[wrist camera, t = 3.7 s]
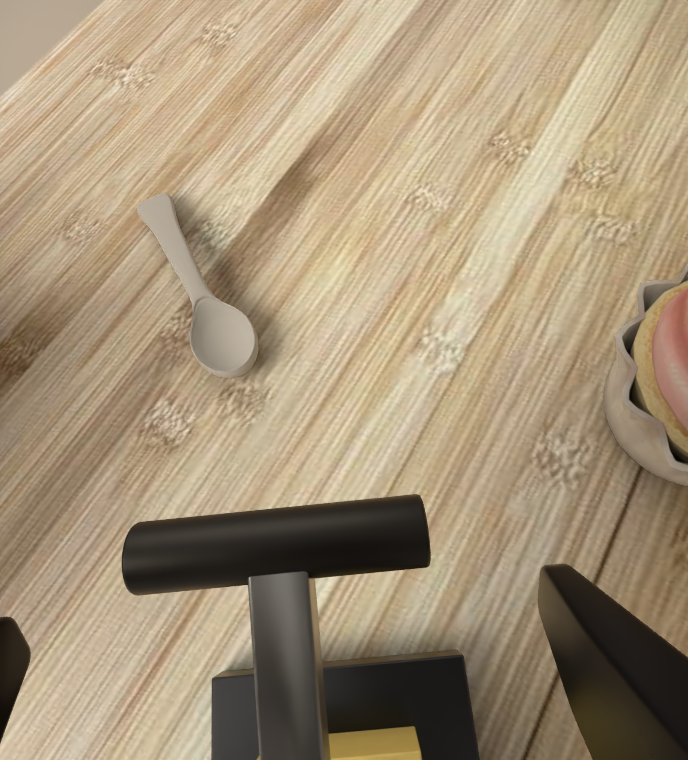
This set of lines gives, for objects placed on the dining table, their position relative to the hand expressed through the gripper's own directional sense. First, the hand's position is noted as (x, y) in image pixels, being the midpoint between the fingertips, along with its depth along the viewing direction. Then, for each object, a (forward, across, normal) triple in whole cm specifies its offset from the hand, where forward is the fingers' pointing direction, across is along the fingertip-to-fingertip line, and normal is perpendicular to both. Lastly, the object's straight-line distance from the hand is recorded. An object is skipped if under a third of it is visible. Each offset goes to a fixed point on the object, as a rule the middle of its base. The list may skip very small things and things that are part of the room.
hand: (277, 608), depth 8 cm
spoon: (+19, +6, -2) cm, 20 cm away
